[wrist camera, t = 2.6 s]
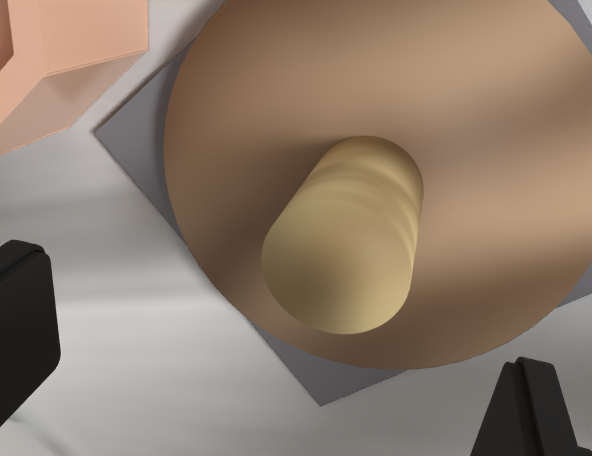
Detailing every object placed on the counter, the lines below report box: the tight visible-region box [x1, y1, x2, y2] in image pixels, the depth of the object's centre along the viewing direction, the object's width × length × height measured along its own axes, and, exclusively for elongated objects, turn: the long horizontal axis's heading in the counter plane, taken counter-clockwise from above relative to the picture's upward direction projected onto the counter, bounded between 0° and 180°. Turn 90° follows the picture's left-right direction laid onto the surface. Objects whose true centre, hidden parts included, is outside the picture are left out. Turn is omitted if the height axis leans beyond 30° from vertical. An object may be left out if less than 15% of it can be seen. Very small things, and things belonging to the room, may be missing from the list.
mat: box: [95, 0, 592, 407], centre depth 20 cm, size 16×17×1 cm
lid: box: [163, 0, 592, 370], centre depth 17 cm, size 16×16×7 cm
